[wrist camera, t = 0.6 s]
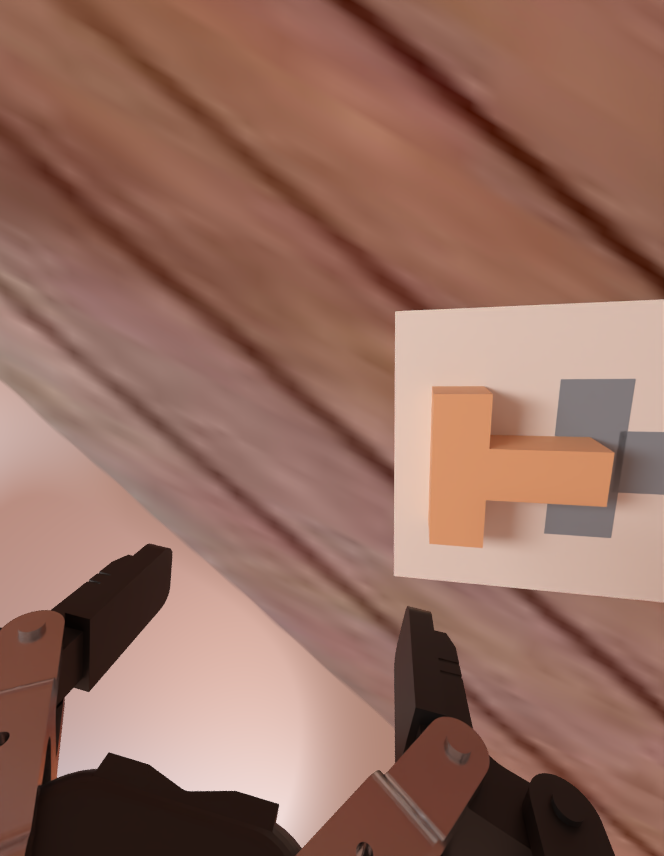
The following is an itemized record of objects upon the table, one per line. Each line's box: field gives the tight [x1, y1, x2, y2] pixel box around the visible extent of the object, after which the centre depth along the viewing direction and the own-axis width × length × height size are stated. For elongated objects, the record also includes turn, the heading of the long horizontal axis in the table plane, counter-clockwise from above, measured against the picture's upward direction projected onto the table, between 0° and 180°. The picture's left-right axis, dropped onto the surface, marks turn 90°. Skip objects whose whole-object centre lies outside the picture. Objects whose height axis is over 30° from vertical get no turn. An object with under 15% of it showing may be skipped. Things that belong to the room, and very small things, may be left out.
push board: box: [394, 300, 664, 602], centre depth 31 cm, size 30×24×1 cm
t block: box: [428, 386, 615, 548], centre depth 30 cm, size 12×12×4 cm
